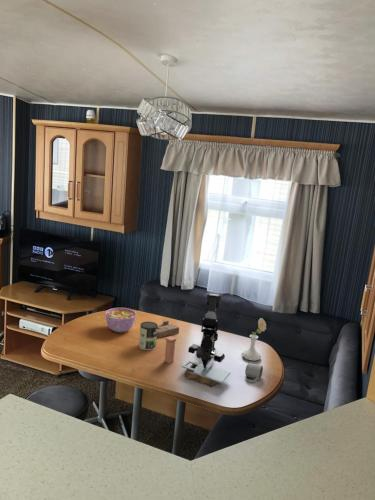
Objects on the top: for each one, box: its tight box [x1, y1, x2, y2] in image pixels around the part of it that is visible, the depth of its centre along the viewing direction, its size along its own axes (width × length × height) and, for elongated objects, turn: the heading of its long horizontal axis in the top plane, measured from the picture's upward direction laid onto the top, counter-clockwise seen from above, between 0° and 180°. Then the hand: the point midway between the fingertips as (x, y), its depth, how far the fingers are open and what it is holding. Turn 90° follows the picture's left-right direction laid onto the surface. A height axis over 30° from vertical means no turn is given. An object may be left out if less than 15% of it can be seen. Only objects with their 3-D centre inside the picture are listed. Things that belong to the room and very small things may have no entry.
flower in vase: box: [241, 317, 267, 361], centre depth 235 cm, size 13×11×25 cm
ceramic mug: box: [244, 362, 264, 384], centre depth 213 cm, size 11×8×8 cm
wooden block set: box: [156, 317, 180, 339], centre depth 263 cm, size 17×6×18 cm
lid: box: [181, 359, 232, 384], centre depth 209 cm, size 24×12×2 cm, turn 62°
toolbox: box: [183, 361, 217, 388], centre depth 210 cm, size 16×12×4 cm
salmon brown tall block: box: [164, 335, 177, 364], centre depth 222 cm, size 4×4×14 cm
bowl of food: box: [104, 307, 137, 333], centre depth 257 cm, size 20×20×12 cm
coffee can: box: [138, 321, 159, 351], centre depth 237 cm, size 10×10×14 cm
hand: (204, 367), depth 209 cm, fingers closed
